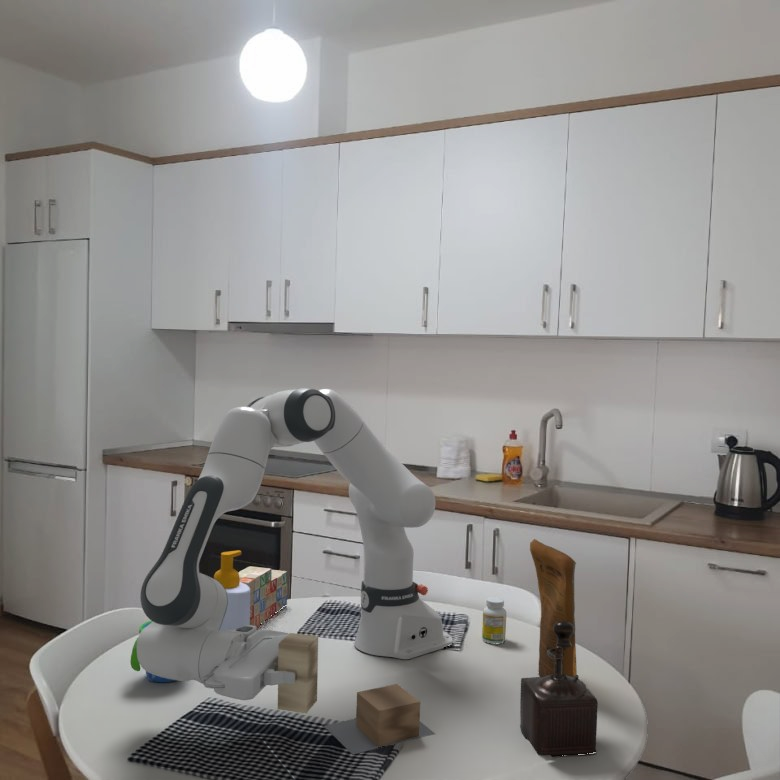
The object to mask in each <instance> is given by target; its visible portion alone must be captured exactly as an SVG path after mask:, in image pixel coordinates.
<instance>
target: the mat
mask: <svg viewBox="0 0 780 780" xmlns="http://www.w3.org/2000/svg"><path fill="white" fill-rule="evenodd" d="M323 727H324V728H325V729H327V731H328V732H329V733H330V734H331V735H332V736H333V737H334V738H335V739H336V740H337V741H338V742H339V743H340V744H341V745H342V746H343V747H344V748H346V749H347V751H348V752H349V753H350V754H351V755H353V756H354V755H357V754H360V753H365V752H369V751H372V750H377V749H379V748H378V747H381V748H383V747H382V746H385V747H389V746H392V745H396V744H397V745H398V744H401V743H405V742H409V741H412V740H417V739H419V738H424V737H425V738H426V737H428V736H432V735H436V733H435V732H434V731H433V730H431V729H430V728H429V727H427V725H425V724H424V723H423V722H422V721H420V723H419V736H417V737H413V738H409V739H405V740H401V741H397V742H393V743H389V744H385V745H381V746H377V745H376V744H375V743H374V742H373V741H372V740H371V739H370V738H369V737H367V736H366V735H365V734H364V733H363V732H362V731H361V730H360V729H359V728H358V727H357V726H356V718H352V719H347V720H343V721H339V722H334V723H330V724H325V725H323ZM388 745H389V746H388Z"/></svg>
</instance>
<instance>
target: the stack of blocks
mask: <svg viewBox="0 0 780 780" xmlns="http://www.w3.org/2000/svg"><path fill="white" fill-rule="evenodd" d="M238 573H239V577H240V582H242V583H244V584H246V585H247V586H248V587H249V588H250V625H252V626H256V627H257V626H258V627H259V626H261V625H262V624H264V623H265V622H266V621H267V620H266V619H268V618H269V617H270V618H272V617H271V615H273V614H274V613H275V612H277V611H279V610H280V609H281V608H282V607H283V606H285V605H287V606H288V571H287V570H280V569H278V570H277V569H272V568H269V567H259V566H253V565H252V566H247V567H246V568H244V569H242V570H240V571H239V572H238ZM279 612H280V611H279ZM273 616H274V615H273ZM270 618H269V619H270ZM269 619H268V620H269ZM265 620H266V621H265ZM264 621H265V622H264ZM263 622H264V623H263ZM261 623H262V624H261ZM260 624H261V625H260ZM258 627H257V628H258Z"/></svg>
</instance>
